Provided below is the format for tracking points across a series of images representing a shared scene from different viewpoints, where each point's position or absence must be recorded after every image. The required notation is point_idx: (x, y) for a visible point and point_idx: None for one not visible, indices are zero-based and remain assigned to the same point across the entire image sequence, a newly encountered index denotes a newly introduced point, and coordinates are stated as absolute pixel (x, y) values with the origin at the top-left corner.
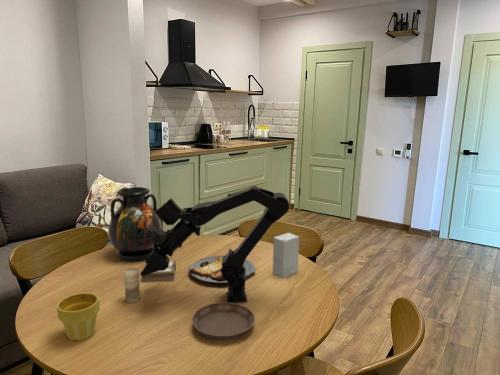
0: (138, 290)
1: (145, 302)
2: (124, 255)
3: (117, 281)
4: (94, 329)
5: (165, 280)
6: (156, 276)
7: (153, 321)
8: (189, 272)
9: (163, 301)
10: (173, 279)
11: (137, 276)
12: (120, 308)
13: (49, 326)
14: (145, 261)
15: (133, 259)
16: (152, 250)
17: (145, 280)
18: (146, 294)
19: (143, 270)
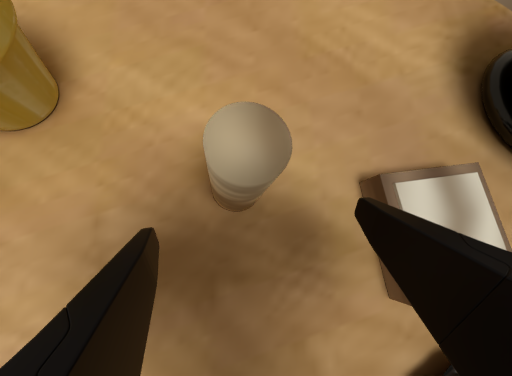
0: (232, 205)
1: (216, 238)
2: (500, 75)
3: (349, 104)
4: (1, 127)
5: (382, 265)
6: None
7: None
8: (451, 370)
9: (226, 308)
10: (392, 298)
11: (234, 190)
12: (174, 165)
13: (76, 7)
14: (362, 201)
15: (490, 110)
16: (485, 258)
17: (365, 192)
18: (274, 224)
19: (111, 265)
